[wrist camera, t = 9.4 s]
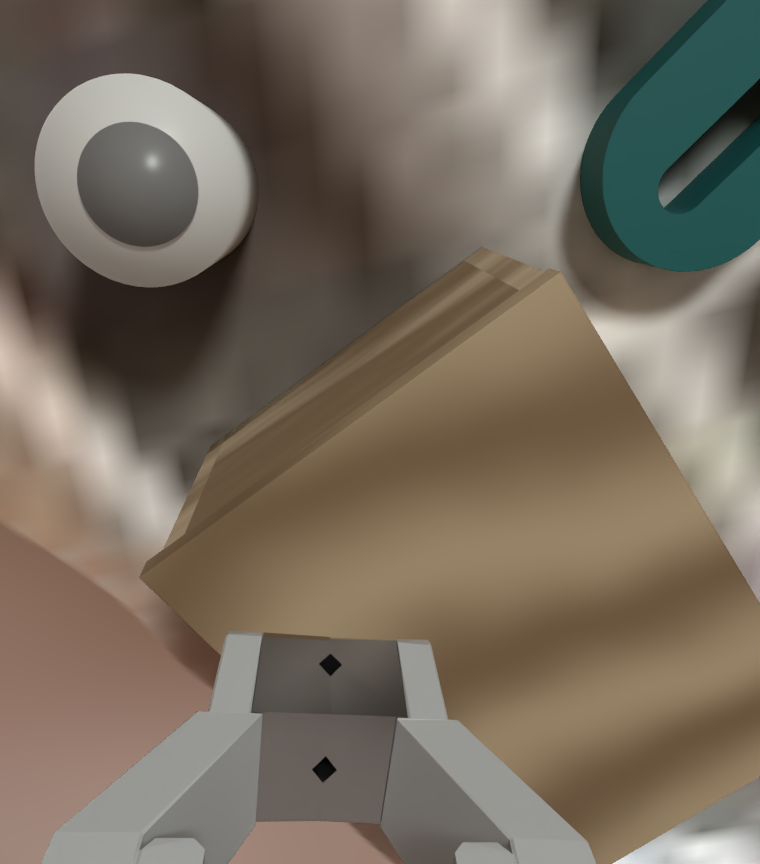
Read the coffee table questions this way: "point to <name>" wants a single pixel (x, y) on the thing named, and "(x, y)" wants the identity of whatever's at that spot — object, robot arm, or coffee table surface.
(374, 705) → the robot arm
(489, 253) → the box
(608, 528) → the lid
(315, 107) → the coffee table surface
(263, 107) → the coffee table surface
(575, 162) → the coffee table surface
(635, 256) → the bracket
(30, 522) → the coffee table surface
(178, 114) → the white knob cylinder
